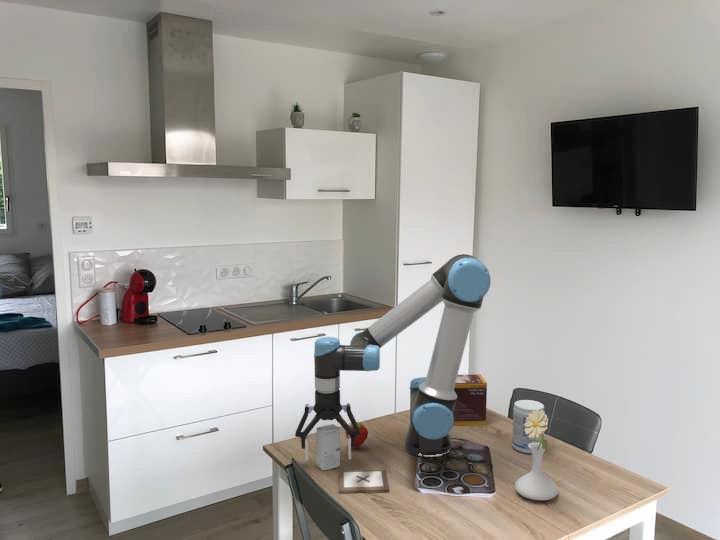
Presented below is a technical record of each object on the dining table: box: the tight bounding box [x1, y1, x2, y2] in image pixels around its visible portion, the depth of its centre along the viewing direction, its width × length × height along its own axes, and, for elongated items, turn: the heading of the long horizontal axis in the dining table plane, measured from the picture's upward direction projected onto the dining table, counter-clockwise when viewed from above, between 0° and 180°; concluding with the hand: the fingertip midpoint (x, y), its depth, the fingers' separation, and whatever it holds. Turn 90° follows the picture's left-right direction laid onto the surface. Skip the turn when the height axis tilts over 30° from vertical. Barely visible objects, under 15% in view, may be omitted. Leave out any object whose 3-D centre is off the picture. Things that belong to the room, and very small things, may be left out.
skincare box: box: [316, 423, 341, 471], centre depth 182 cm, size 6×4×12 cm
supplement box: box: [453, 373, 488, 426], centre depth 217 cm, size 10×15×16 cm
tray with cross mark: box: [338, 469, 390, 494], centre depth 172 cm, size 14×12×1 cm
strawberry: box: [345, 421, 369, 449], centre depth 194 cm, size 6×8×10 cm
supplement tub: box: [511, 399, 545, 454], centre depth 193 cm, size 10×10×15 cm
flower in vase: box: [514, 410, 559, 501], centre depth 162 cm, size 13×11×25 cm
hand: (328, 457), depth 182 cm, fingers open, 12 cm apart
